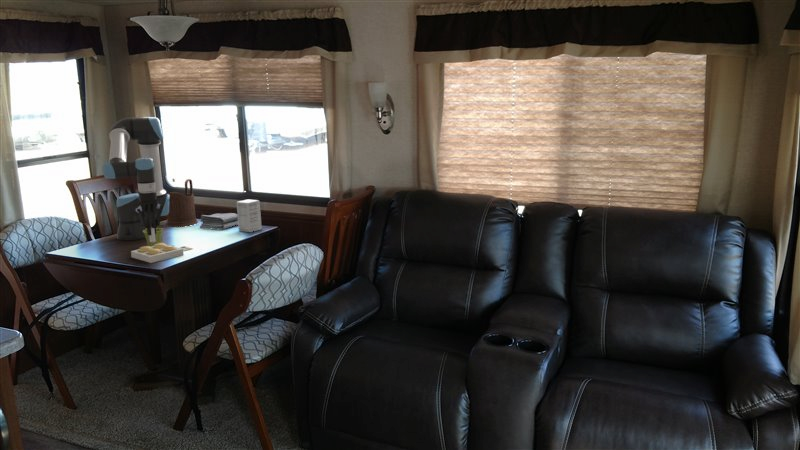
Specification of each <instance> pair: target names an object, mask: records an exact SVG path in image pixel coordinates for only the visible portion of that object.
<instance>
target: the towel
mask: <svg viewBox="0 0 800 450" xmlns="http://www.w3.org/2000/svg"><path fill="white" fill-rule="evenodd" d="M199 220H200V222H201V224H200V225H199V229H205V228H212V229H211V230H217V229H222V230H226V228H227V229H230V228H233V227H235V225H236V226H238V214H237V213H234V212H233V213H232V212H228V213H213V214H209V215H206V214H201V215H200V219H199ZM232 226H233V227H232ZM229 227H230V228H229Z"/></svg>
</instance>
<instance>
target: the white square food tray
mask: <svg viewBox="0 0 800 450" xmlns="http://www.w3.org/2000/svg"><path fill="white" fill-rule="evenodd" d="M167 245H168V244H166V243H165V246H167ZM151 249H155V248H154V246H152V247H151ZM159 250H160V253H159V254H155V255H149V254H148V252H145V253H142V252H140V248H138V249H135V250H130V255H131V259H136V260H139V261H142V262H147V263H149V264H153V263H156V262H157V263H158V262H161V261H165V260H169V259H173V258H176V257H181V256H184V251H183V249H181V248H179V247H177V246H174V250H172V251H168V252H165V251H163V248H162V249H159Z"/></svg>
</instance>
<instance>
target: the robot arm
mask: <svg viewBox="0 0 800 450" xmlns="http://www.w3.org/2000/svg"><path fill="white" fill-rule="evenodd" d="M108 139H109V140H110V147H109V155H108V156H109V157H108V158H109V159H108V162H107V161H106V162H104V163H103V164H102V171H103V176H104V178H105V179H108V180H109V179H114V180H116V179H126V178H127V179H129V178H136V179H137V189H138V190H137V191H138V192H139V193H129V194H124V195H121V196H119V197H117V199H116V210H117V215H118V216H117V217H118V228H117V233H116V239H117V240H119V241H134V240H135V241H136V240H141V239H146V237H145V235H144V233H143V231H144V230H146V229H147V234H148V235H149V239H150V242H156V239H155V234H156V228H158V226H159V227H160V224H161V217H163V216H167V215H168V214H169V199H170V195H169V194H167V193H168V192H167V190H166V189H164V185H163V176H162V167H161V158H160V156H161V155H160V149H159V146H160V145H161V143H162V140H164V132H163V129H162V125H161V121H160V119H159V118H158V117H154V116H144V117H143V116H142V117H139V116H138V117H125V118H122V119H120V120H118V121H117V122H116V123H114V124H113V125H112V126H111V128H110V130H109V134H108ZM130 141H136V142H137V143H136V144H137V145H138V146H140V151H141V157H139V158H136V159H135V160H133V161H127V159H128V157H127V156H128V143H129V142H130Z"/></svg>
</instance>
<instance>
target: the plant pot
mask: <svg viewBox="0 0 800 450" xmlns="http://www.w3.org/2000/svg"><path fill="white" fill-rule="evenodd" d="M145 229H146V228H145ZM163 229H164V228H160V227H157V228H156V234H155V239H156V242H150V239H149V235H148V234H147V229H146V230H144V231H143V233H144V235H145V240H146V243H147V246H150V247H152V246H154V244H157V243H162V233H163Z"/></svg>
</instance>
